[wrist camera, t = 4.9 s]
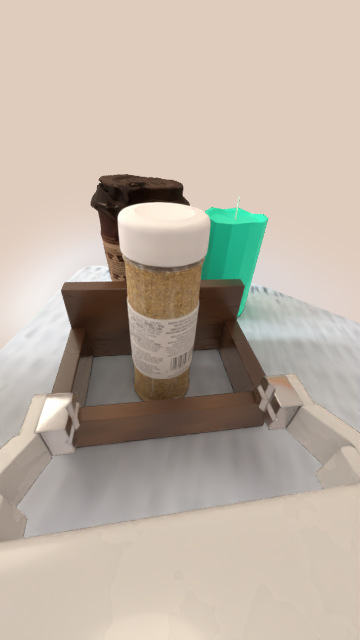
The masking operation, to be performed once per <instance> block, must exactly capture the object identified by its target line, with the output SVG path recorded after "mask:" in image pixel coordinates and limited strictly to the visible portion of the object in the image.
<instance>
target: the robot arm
mask: <svg viewBox="0 0 360 640" xmlns="http://www.w3.org/2000/svg"><path fill="white" fill-rule="evenodd" d="M259 382H260V384H261V385H259V386H258V387H257V388H256V391H255V398H256V402H257V405H258V407H259V408H260V409H261V410H263V411H264V413H263V418H264V420H265V423H266V425H267V427H268V429H269V430H274V429H285V428H287V429H286V430H287V431H288V432H289V433H290V434H291V435H292V436H294V437H295V438H296V439H297V440H298V441H299V442H300V443H301V444H302V445H303V446H304V447H305V448H306V449H307V450H308V451H309V452H310V453H311V454H312V455H313V456H314V457H315V458H317V459H318V460H319V461H320V462H321V463H322V464H323V466H322V467H321V468H320V469H319V470H318V471H317V472H316V477H317V479H318V480H319V482H320V484H321V486H322V488H323V489H320V490H314V491H308V492H302V493H296V494H290V495H284V496H278V497H272V498H265V499H259V500H253V501H247V502H241V503H235V504H229V505H223V506H217V507H211V508H205V509H198V510H192V511H186V512H180V513H174V514H168V515H162V516H156V517H150V518H144V519H138V520H132V521H125V522H119V523H113V524H107V525H101V526H95V527H89V528H83V529H77V530H71V531H64V532H58V533H52V534H46V535H40V536H34V537H28V538H23V535H24V531H25V528H26V524H27V520H28V519H27V517H26V516H25V515H24V514H23V513H22V512H21V511H20V510H18V509H17V508H16V507H17V505H18V504H19V503H20V501H21V500H22V499H23V497H24V496H25V495H26V493H27V492H28V490H29V489H30V488H31V486H32V485H33V484H34V482H35V481H36V480H37V478H38V477H39V475H40V474H41V473H42V471H43V470H44V469H45V467H46V466H47V465H48V463H49V462H50V460H51V459H52V458H53V457H52V456H57V455H64V454H71V453H75V451H76V445H77V440H78V435H77V432H76V430H77V429H78V427H79V426H80V423H81V405H80V403H79V402H77V398H78V396H77V394H76V392H70V393H55V394H40V395H35V396H34V397H33V398H32V400H31V403H30V406H29V408H28V411H27V414H26V416H25V419H24V422H23V424H22V427H21V430H20V432H19V435H17V436H14V437H13V438H12V439H10V440H9V441H8V442H7V443H6V444H5V445H4V446H3V447H2V448H1V449H0V640H360V433H359V432H358V431H357V430H355V429H354V428H352V427H351V426H349V425H348V424H346V423H345V422H343V421H342V420H341V419H339V418H338V417H336V416H335V415H333V414H332V413H330V412H329V411H327V410H326V409H324V408H323V407H322V406H320V405H319V404H315V403H314V402H313V400H312V399H311V397H310V396H309V394H308V393H307V391H306V390H305V388H304V387H303V385H302V383H301V382H300V380H299V379H298V377H297V376H296V375H295V374H286V375H272V376H263V377H262V378H261V379H260V381H259Z"/></svg>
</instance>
